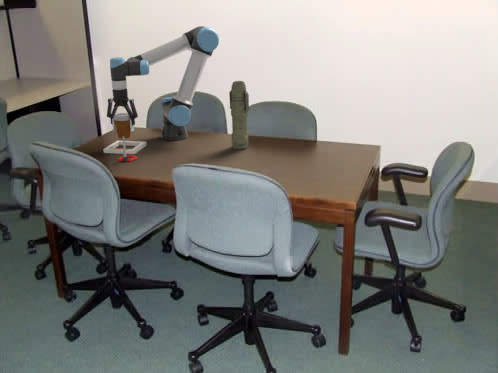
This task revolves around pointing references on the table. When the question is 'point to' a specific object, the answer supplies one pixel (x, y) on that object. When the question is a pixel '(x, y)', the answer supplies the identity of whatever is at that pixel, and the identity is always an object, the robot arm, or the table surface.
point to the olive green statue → (239, 114)
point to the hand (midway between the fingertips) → (123, 130)
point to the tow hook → (125, 157)
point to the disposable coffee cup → (122, 125)
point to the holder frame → (138, 145)
